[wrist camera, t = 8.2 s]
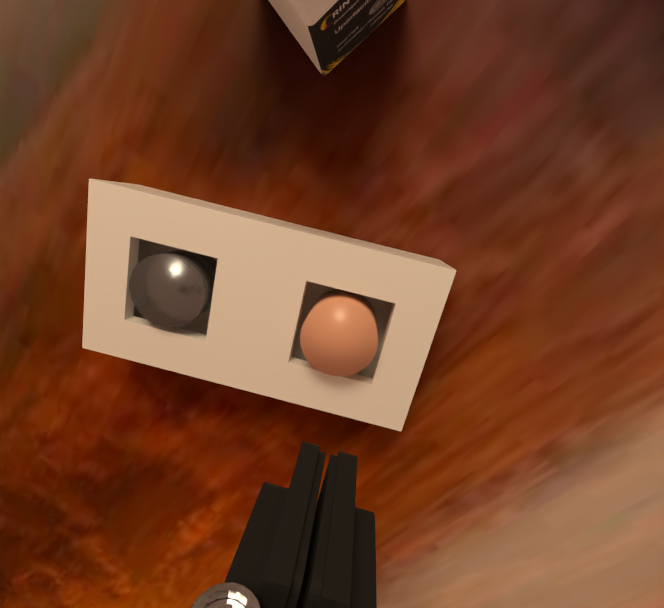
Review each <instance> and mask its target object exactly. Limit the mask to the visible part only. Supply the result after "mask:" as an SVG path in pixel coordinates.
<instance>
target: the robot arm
mask: <svg viewBox="0 0 664 608" xmlns="http://www.w3.org/2000/svg"><path fill="white" fill-rule="evenodd" d="M319 449H320V446H318V445H315V444H311V443H307V442H304V441H303V442H302V445H301V449H300V452H299V456H298V459H297V462H296V466H295V469H294V473H293V476H292V480H291V483H290V487H289V489H288V488H285V487H281V486H277V485H274V484H270V483H267V482H264V483H263V485H262V488H261V490H260V493H259V495H258V498H257V500H256V503H255V506H254V508H253V511H252V513H251V516H250V518H249V521H248V523H247V526H246V529H245V531H244V534H243V536H242V539H241V541H240V544H239V547H238V549H237V552H236V554H235V557H234V559H233V562H232V565H231V567H230V570H229V572H228V575H227V577H226V580H225V582H224V583H220V584H217V585H215V586H212V587H210V588H209V589H207V590H206V591H205V592H203V593H202V594H201V595H200V596H199V597H198V598H197V600H196V601H195V602H194V603H193V605H192V606H191V608H377V606H376V552H375V515H374V512H370V511H366V510H363V509H359V508H356V507H355V493H356V473H357V456H355V455H351V454H347V453H344V452H340V451H339V453H338V456H335V455H331V456H330V460H329V463H328V467H327V470H326V474H325V477H324V481H323V484H322V488H321V491H320V495H319V498H318V493H319V488H320V482H321V477H322V471H323V466H324V460H325V454H326V453H324V452H320V451H319ZM317 499H318V502H317ZM316 504H317V505H316Z"/></svg>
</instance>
